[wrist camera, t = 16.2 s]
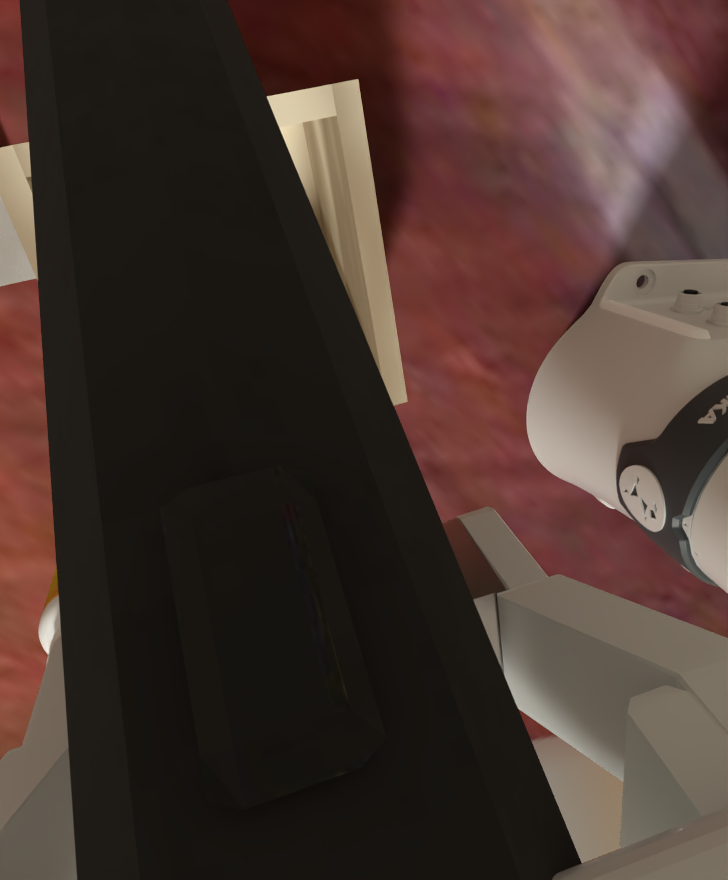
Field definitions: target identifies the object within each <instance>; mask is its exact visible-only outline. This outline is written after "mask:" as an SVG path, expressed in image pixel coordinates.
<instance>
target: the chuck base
mask: <svg viewBox="0 0 728 880" xmlns="http://www.w3.org/2000/svg"><path fill="white" fill-rule="evenodd" d="M35 278H36V276H35V274H34V271H33V269H32V267H31V264H30V262H29V260H28V258H27V255H26V253H25V251H24V248H23V246H22V244H21V242H20V239H19V237H18V235H17V232H16V230H15V228H14V226H13V223H12V221H11V219H10V216H9V214H8V212H7V210H6V207H5V205H4V203H3V201H2V198H1V196H0V286H3V285H8V284H12V283H17V282H21V281H26V280H30V279H35Z"/></svg>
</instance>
